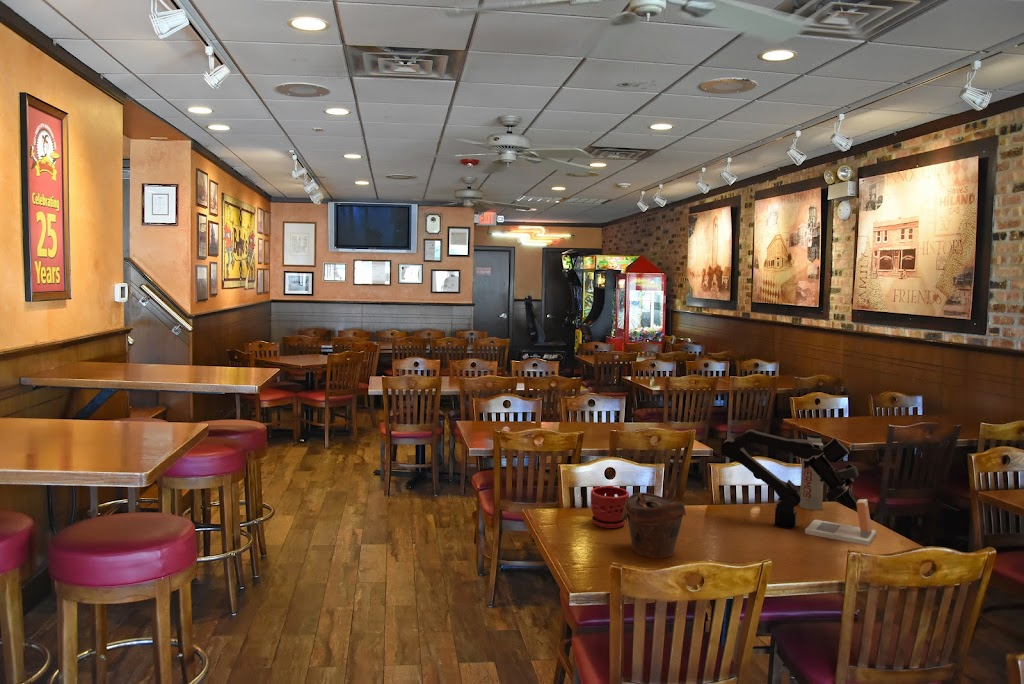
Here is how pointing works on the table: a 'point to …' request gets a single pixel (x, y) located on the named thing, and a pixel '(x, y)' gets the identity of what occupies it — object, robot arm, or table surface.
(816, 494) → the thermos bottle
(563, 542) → the table surface
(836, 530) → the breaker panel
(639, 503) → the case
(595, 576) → the table surface
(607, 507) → the plant pot
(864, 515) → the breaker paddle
